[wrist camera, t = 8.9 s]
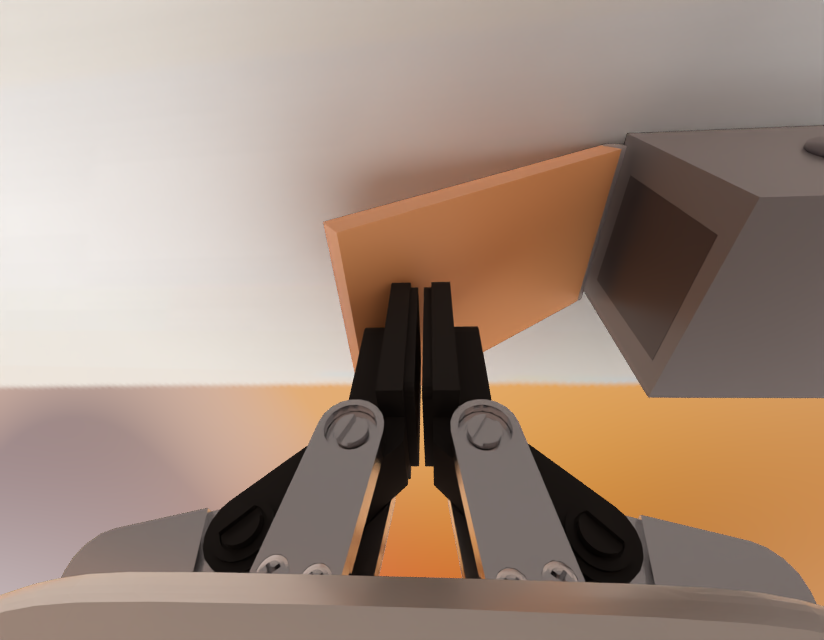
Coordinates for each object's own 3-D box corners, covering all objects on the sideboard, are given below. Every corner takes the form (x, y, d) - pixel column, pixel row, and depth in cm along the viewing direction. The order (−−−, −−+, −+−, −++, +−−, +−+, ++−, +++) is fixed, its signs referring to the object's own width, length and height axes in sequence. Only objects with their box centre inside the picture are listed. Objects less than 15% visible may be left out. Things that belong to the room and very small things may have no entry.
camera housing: (914, 117, 13) (1320, 182, 7) (793, 284, 17) (979, 410, 11) (628, 128, 14) (779, 198, 8) (581, 287, 18) (654, 409, 12)
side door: (631, 146, 13) (336, 232, 8) (585, 296, 17) (370, 413, 12) (601, 140, 14) (317, 216, 9) (564, 285, 18) (355, 391, 13)
